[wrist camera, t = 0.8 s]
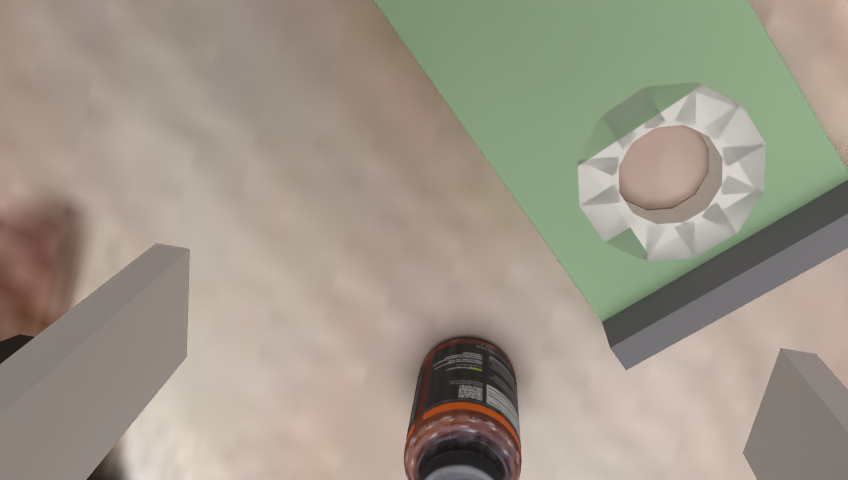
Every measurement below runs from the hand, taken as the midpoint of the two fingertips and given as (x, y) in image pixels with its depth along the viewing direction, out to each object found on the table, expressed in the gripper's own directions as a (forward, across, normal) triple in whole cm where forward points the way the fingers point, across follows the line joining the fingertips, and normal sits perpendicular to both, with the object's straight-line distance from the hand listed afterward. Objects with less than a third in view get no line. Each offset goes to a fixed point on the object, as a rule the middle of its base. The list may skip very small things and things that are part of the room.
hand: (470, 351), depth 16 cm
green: (+24, +5, +4) cm, 25 cm away
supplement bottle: (+24, +2, -15) cm, 28 cm away
